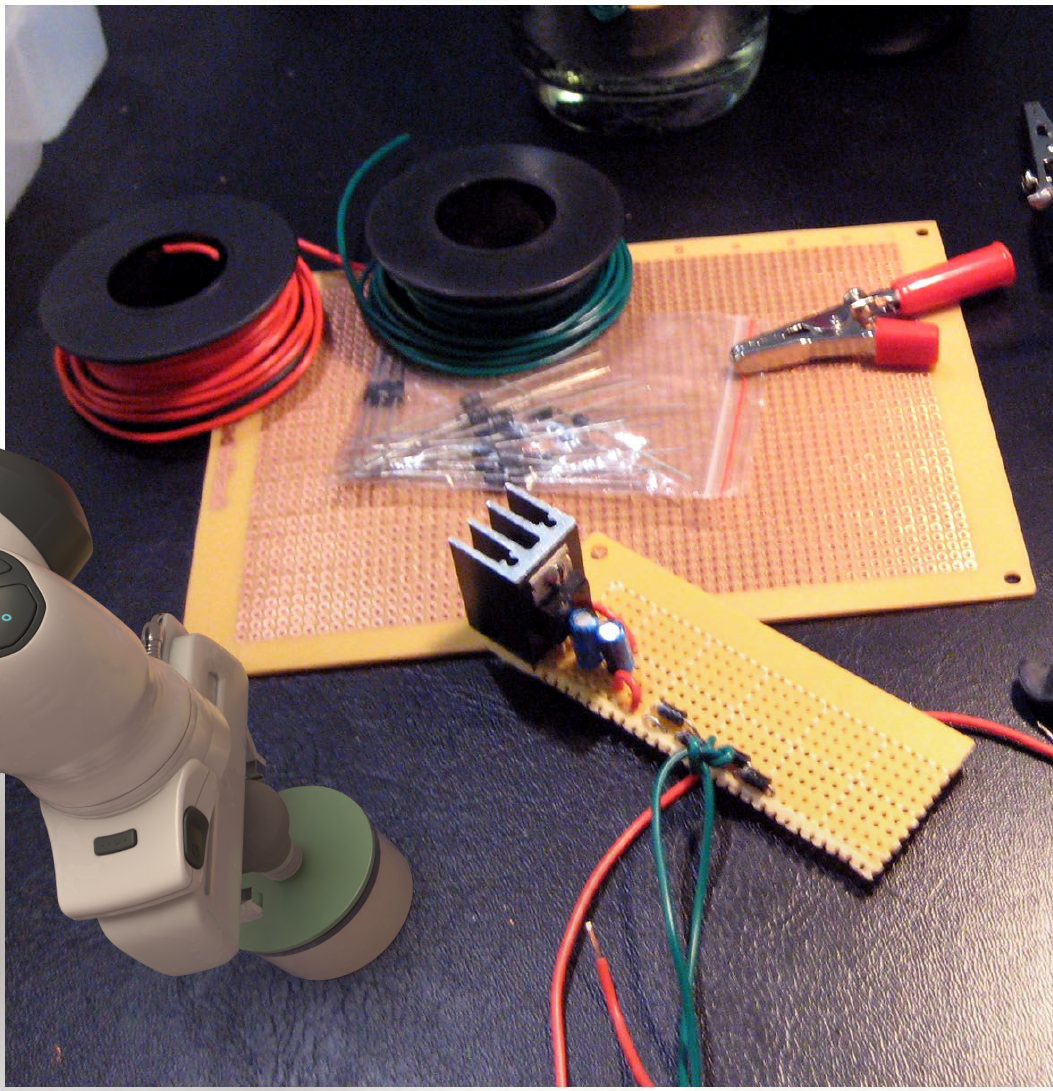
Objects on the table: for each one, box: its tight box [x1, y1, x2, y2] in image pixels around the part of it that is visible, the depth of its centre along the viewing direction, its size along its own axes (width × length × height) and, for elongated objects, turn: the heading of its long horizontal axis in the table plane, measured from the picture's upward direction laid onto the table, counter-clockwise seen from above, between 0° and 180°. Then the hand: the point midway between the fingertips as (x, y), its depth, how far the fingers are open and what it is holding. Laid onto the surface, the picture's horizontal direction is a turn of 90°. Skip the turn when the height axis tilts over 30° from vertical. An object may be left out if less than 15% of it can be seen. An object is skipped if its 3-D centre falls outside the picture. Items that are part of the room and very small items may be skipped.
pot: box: [239, 785, 414, 981], centre depth 86 cm, size 12×12×9 cm
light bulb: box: [242, 780, 302, 881], centre depth 78 cm, size 6×6×10 cm
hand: (253, 840), depth 79 cm, fingers open, 8 cm apart
